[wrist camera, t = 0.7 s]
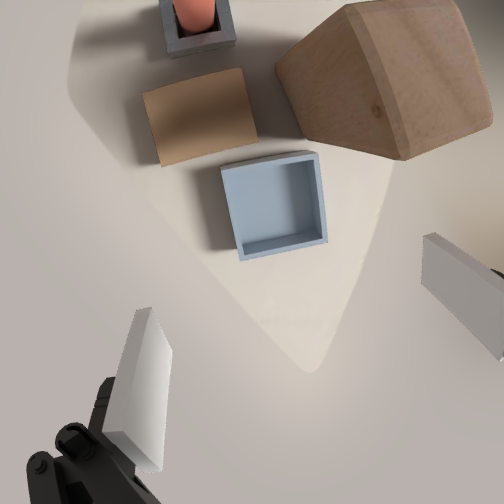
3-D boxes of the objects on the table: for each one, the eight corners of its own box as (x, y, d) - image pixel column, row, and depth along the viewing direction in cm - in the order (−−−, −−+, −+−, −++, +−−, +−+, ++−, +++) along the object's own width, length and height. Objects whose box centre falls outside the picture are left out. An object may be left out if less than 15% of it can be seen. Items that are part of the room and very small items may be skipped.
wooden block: (304, 143, 34) (401, 168, 16) (270, 64, 30) (337, 1, 12) (375, 116, 33) (500, 127, 15) (346, 42, 29) (457, -7, 11)
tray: (219, 166, 34) (220, 170, 31) (308, 150, 34) (318, 153, 31) (237, 249, 38) (239, 261, 35) (318, 231, 38) (328, 242, 35)
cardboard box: (149, 96, 30) (142, 93, 26) (237, 73, 30) (240, 66, 27) (167, 162, 33) (161, 167, 30) (253, 140, 34) (258, 141, 30)
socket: (162, 7, 26) (158, -2, 23) (223, -5, 26) (225, -15, 23) (171, 58, 28) (167, 52, 26) (234, 46, 29) (236, 39, 26)
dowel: (179, 15, 26) (162, -41, 13) (211, 9, 26) (212, -51, 14) (184, 42, 28) (167, -6, 15) (216, 35, 28) (220, -16, 15)
